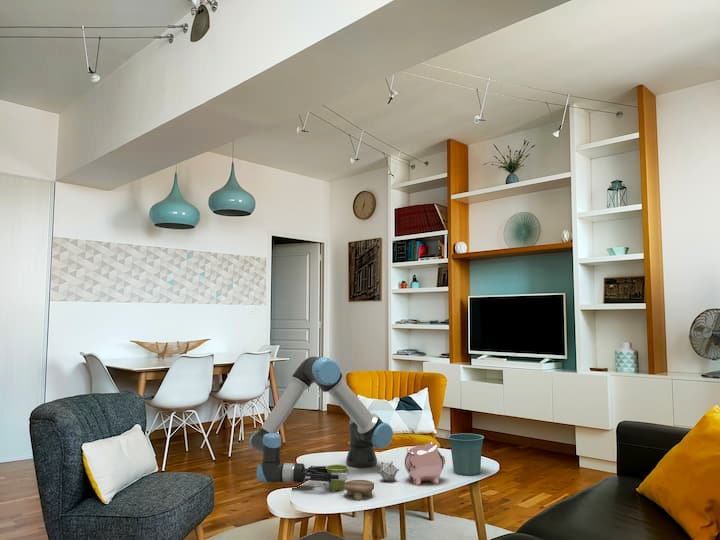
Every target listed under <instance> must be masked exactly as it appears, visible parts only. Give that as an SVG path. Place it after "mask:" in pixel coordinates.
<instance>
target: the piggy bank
mask: <svg viewBox="0 0 720 540" xmlns="http://www.w3.org/2000/svg"><path fill="white" fill-rule="evenodd" d="M438 447H439V445H438V444H436V443H435V444H434V442H433V440H432V441H429V442H427V443H426V444H422V445H421V444H419V445H415V446H413V447H410V449H409V447H406V455H405V457H404V467H405V471H406V472H407V474H408V476H407V477H408V478H407V480H409V481H413V485H415V486H420V485H421V484H422V482H431V483H432V484H434V485H438V484H440V476H441V475H442V472H443V470H444V466H445V465H446V457H445V456H444V455H442V454H441V452H440V451H439V450H438Z"/></svg>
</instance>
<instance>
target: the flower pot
mask: <svg viewBox="0 0 720 540" xmlns="http://www.w3.org/2000/svg"><path fill="white" fill-rule="evenodd" d="M447 439H448V440H449V446H450V450H451V451H450V452H451V459H452V460H451V461H452V468H453V473H454V474H456V473H457V475H465V476H476V475H479V474H480V473H481V469H482V468H481V466H482V465H481V463H482V462H481V461H482V447H483V441H484V439H485V437H484V435H482V434H476V433H467V432H466V433H451V434H449V435H448V436H447Z"/></svg>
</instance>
